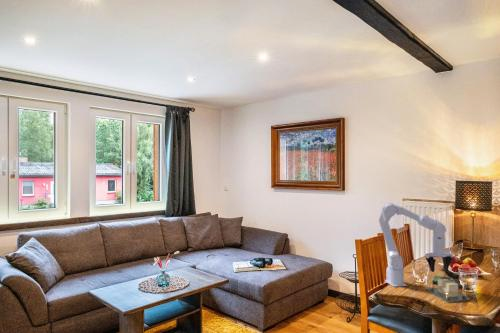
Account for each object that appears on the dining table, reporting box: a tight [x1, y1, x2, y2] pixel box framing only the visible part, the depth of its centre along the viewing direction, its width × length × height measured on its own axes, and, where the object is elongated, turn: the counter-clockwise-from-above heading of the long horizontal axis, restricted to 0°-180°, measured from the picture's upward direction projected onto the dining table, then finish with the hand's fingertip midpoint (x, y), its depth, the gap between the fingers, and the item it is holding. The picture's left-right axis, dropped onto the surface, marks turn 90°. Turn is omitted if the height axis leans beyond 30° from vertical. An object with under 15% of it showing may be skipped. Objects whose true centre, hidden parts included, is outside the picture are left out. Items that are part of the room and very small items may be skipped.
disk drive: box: [432, 275, 462, 290], centre depth 186 cm, size 10×3×15 cm
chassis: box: [425, 284, 472, 303], centre depth 170 cm, size 16×12×4 cm
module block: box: [437, 279, 459, 297], centre depth 170 cm, size 8×5×6 cm, turn 7°
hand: (439, 271), depth 179 cm, fingers open, 7 cm apart
